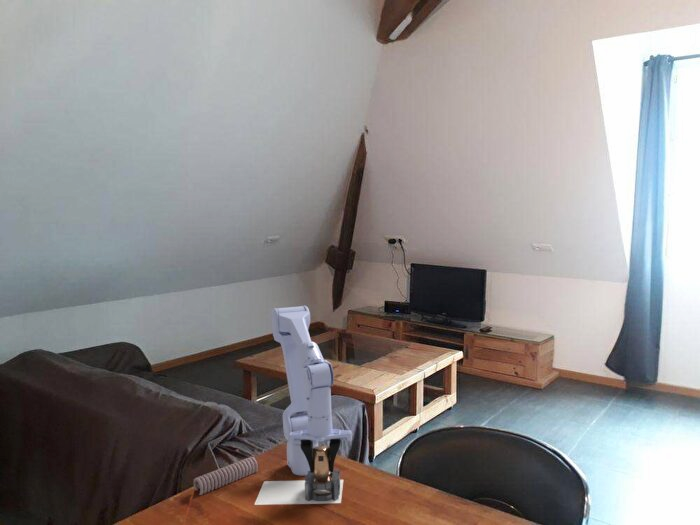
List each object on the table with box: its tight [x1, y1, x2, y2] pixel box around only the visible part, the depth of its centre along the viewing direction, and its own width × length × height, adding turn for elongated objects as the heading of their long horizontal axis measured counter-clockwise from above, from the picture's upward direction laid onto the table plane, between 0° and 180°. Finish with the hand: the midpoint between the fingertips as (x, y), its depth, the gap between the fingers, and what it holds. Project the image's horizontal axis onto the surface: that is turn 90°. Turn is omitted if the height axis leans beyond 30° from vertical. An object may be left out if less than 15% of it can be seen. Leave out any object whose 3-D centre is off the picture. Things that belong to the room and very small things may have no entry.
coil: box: [192, 456, 259, 496], centre depth 143 cm, size 5×5×18 cm
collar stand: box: [304, 469, 341, 501], centre depth 134 cm, size 8×8×4 cm
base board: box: [254, 479, 344, 506], centre depth 135 cm, size 20×12×1 cm, turn 88°
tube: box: [313, 445, 332, 490], centre depth 133 cm, size 4×4×9 cm
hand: (322, 470), depth 134 cm, fingers closed on tube, 4 cm apart
